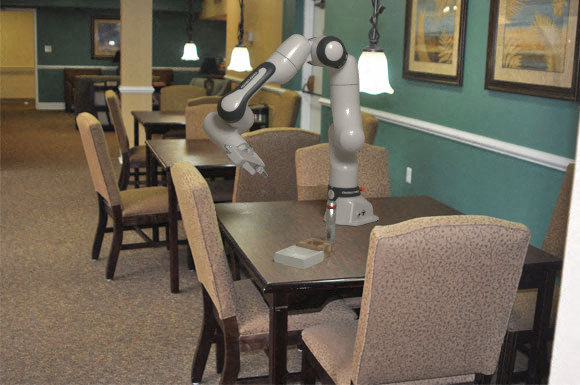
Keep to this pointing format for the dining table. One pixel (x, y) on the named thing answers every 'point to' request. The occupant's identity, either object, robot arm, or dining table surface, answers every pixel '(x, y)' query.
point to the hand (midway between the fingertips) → (260, 175)
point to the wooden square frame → (318, 246)
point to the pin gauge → (330, 221)
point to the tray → (298, 257)
